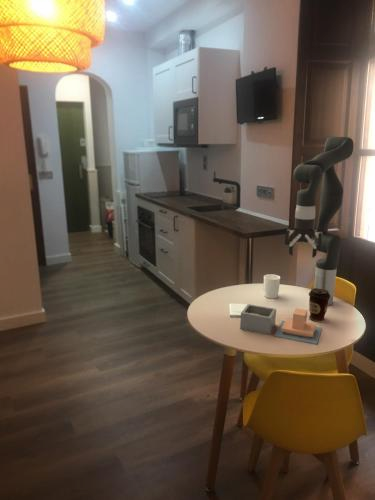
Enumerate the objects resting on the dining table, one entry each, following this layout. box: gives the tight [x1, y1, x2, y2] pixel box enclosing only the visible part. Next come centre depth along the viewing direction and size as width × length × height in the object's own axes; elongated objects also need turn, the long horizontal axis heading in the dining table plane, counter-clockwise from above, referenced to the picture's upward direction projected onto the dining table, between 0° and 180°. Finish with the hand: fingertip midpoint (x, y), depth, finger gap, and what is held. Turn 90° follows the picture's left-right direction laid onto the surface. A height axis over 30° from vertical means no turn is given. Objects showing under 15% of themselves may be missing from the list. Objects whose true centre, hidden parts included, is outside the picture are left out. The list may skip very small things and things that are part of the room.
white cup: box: [263, 273, 281, 300], centre depth 200 cm, size 8×8×10 cm
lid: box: [281, 307, 317, 338], centre depth 163 cm, size 10×12×8 cm
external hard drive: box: [228, 303, 248, 318], centre depth 183 cm, size 2×8×12 cm
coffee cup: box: [308, 287, 330, 323], centre depth 174 cm, size 9×8×13 cm
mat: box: [273, 320, 322, 346], centre depth 164 cm, size 15×16×1 cm
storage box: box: [239, 303, 277, 336], centre depth 167 cm, size 10×12×7 cm
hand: (302, 256), depth 166 cm, fingers open, 8 cm apart
